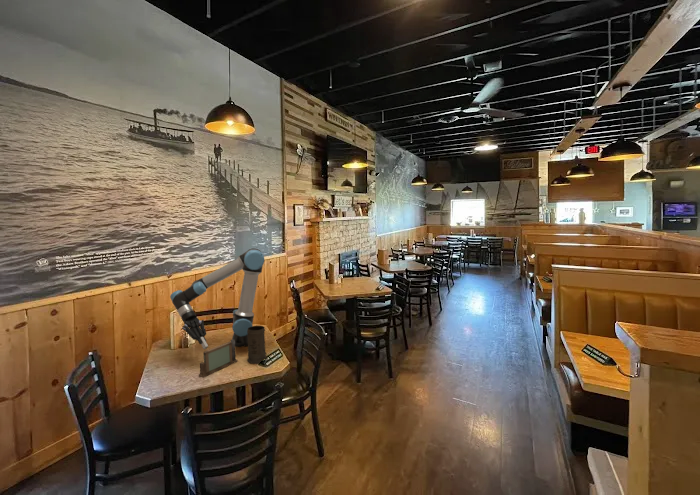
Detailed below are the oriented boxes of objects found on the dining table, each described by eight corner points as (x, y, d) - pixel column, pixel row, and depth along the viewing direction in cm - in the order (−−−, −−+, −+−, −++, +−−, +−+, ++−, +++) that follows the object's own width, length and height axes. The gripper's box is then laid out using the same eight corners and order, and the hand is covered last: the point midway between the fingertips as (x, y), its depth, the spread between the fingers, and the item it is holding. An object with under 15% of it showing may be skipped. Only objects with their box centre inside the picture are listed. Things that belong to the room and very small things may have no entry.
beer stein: (265, 363, 195) (264, 329, 194) (246, 365, 193) (245, 330, 192) (267, 354, 210) (266, 322, 209) (249, 355, 208) (249, 323, 208)
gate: (230, 360, 197) (229, 341, 196) (232, 361, 196) (231, 342, 195) (204, 371, 182) (203, 351, 181) (206, 372, 181) (205, 352, 180)
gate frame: (233, 360, 200) (232, 338, 199) (237, 361, 198) (236, 340, 197) (198, 376, 180) (197, 352, 179) (202, 377, 178) (201, 353, 177)
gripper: (194, 315, 205) (213, 347, 198) (174, 320, 194) (192, 355, 187) (199, 307, 202) (218, 340, 195) (179, 313, 191) (198, 347, 184)
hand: (206, 347), depth 191 cm, fingers closed
